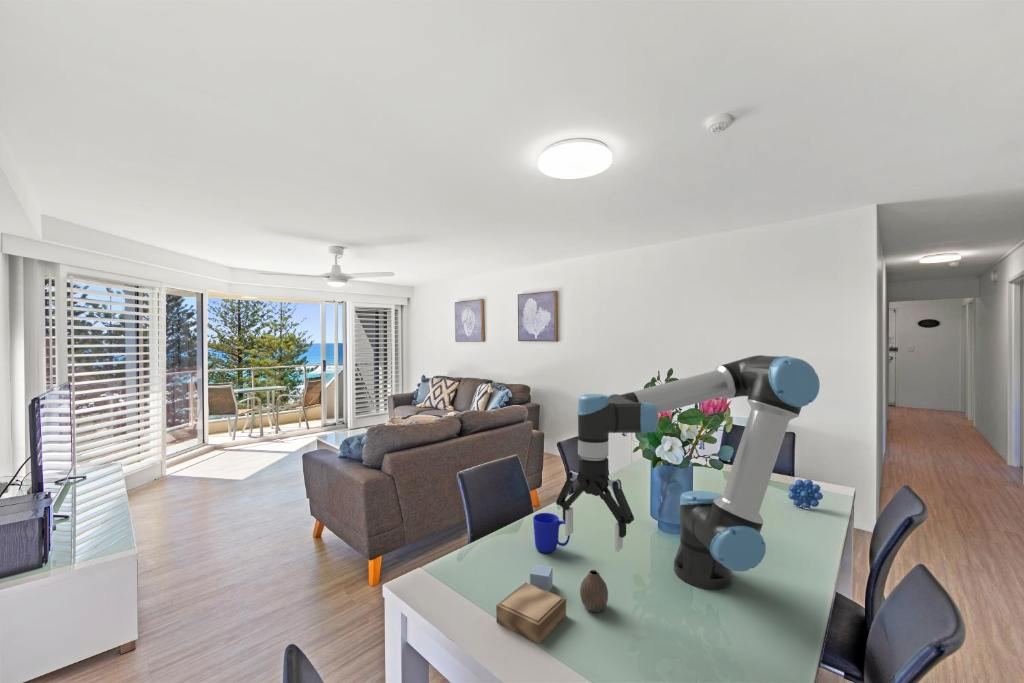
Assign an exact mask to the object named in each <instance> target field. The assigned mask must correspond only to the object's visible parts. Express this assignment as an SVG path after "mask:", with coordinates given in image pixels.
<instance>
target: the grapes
mask: <svg viewBox="0 0 1024 683" xmlns="http://www.w3.org/2000/svg"><path fill="white" fill-rule="evenodd" d="M788 490H789V491H790V492H788V495H787V496H788V499H789V500H792V501H793V505H794V506H795V505H796V506H795V507H801V508H803V507H804V508H809V509H810V508H811V507H813V508H815V507H816V508H817V507H819V505H820V501H821V500H822V499H823V498H824V495H823V493H822V492H821V486H820V485H819V484H817V483H816V484H815V483H814V481H812V479H808V478H807V479H805V480H803V479H799V478H798V479H796V480H795V482H794V484H793V483H792V484H790V485H789V486H788ZM804 508H803V509H804Z"/></svg>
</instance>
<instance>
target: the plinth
mask: <svg viewBox="0 0 1024 683" xmlns="http://www.w3.org/2000/svg"><path fill="white" fill-rule="evenodd" d="M495 611H496V615H495V616H496V617H495V619H496V623H497V624H499V625H502V626H503V627H506V628H507V629H509V630H512V631H513V632H515V633H518V634H519V635H521V636H523V637H525V638H527V639H529V640H531V641H533V642H534V643H537V644H540V643H541V642H542V641H543V640H544V639H545V638H546V637H547V636H548V635H549V634H550V632H552V630H553V629H555V628H556V627H557V626H558V624H559V623H560V622H562V621H563V619H564V618H566V616H567V599H566V598H565V597H562V596H560V595H557V594H554V593H553V592H551V591H550V592H548V591H545V590H543V589H541V588H538V587H536V586H533V585H531V584H530V583H528V582H524V583H522V584H521V585H520V586H519V587H518V588H517V589H515V590H514V591H513V592H511V593H510V594H509V595H508V596H506V597H505V598H504V599H502V600H501V601H500V602H499V603H497V604H496V610H495Z"/></svg>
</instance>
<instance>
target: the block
mask: <svg viewBox="0 0 1024 683" xmlns="http://www.w3.org/2000/svg"><path fill="white" fill-rule="evenodd" d="M529 581H530V582H529V584H531V585H533V586H536V587H538V588H541V589H543V590H545V591H548V592H550V593H551V590H552V587H553V585H554V584H553V566H550V565H548V566H547V565H543V564H542V565H540V564H535V563H534V565H533V567H532V569H531V571H530V573H529Z"/></svg>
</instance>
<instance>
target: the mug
mask: <svg viewBox="0 0 1024 683" xmlns="http://www.w3.org/2000/svg"><path fill="white" fill-rule="evenodd" d="M532 519H533V520H532V523H533V535H534V546H535V548H536V550H538V552H541V553H544V554H545V553H546V554H547V553H548V554H550V553H552V552H554V551H555V550H557V546H560V547H565V546H567V544H569V542H570V537H571V534H570V535H569V536H567V538H566V540H565V541H564V542H560V541H559V540H560V539H559V533H560V532H559V531H560V526H561V525H565V521H563V520H560V518H559V517H558V515H556V514H554V513H550V512H540V513H536V514H535V515H533V517H532Z"/></svg>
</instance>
